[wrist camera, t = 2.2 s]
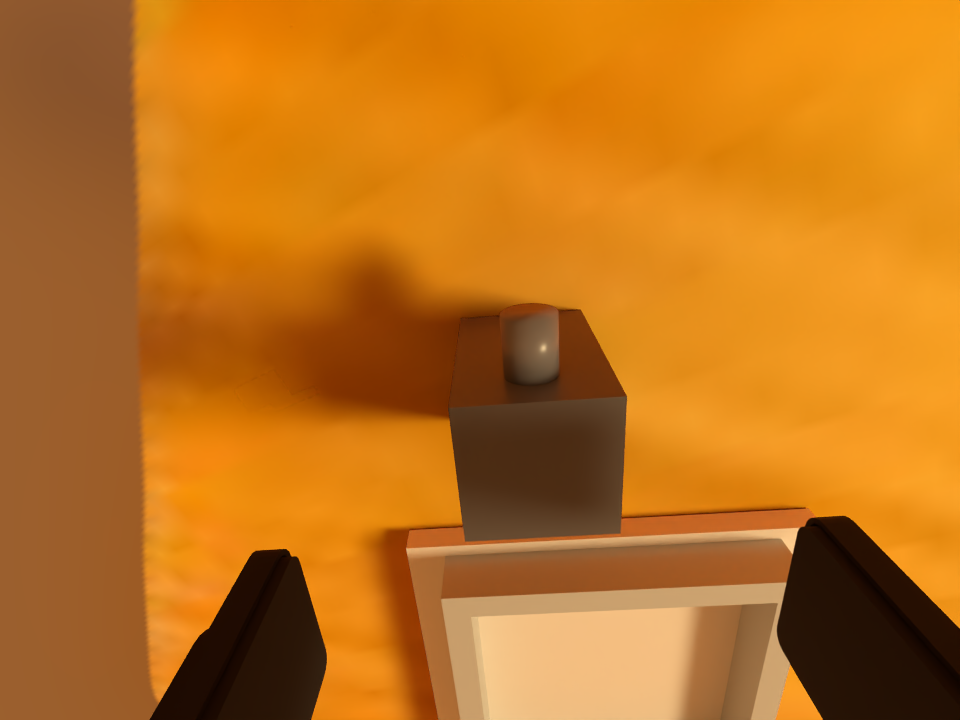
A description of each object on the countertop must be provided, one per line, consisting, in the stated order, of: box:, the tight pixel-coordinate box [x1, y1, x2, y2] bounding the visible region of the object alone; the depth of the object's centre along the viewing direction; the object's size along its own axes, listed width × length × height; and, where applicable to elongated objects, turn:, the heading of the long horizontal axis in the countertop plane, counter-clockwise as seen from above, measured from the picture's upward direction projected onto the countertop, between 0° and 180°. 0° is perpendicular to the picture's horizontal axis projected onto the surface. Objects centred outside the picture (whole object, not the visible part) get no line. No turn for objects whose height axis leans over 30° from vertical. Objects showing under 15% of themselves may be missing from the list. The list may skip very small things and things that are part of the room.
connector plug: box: [448, 303, 627, 542], centre depth 14 cm, size 6×4×6 cm
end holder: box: [406, 509, 816, 720], centre depth 22 cm, size 14×16×3 cm
